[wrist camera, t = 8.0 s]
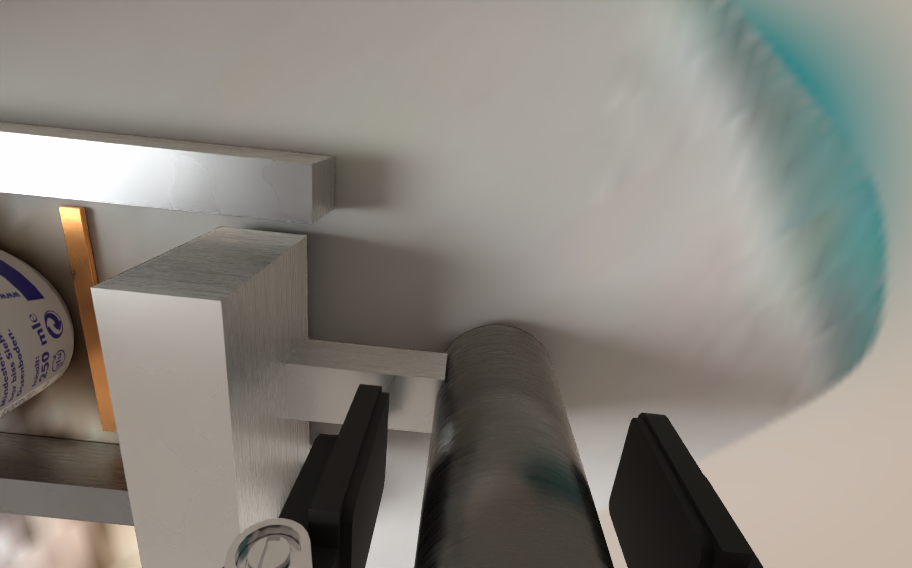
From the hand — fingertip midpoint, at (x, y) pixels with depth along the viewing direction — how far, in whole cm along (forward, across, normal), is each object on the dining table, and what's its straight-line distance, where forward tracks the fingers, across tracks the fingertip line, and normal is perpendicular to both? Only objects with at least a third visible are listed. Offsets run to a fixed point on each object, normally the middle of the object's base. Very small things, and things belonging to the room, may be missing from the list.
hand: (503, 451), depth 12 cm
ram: (+4, +3, 0) cm, 5 cm away
